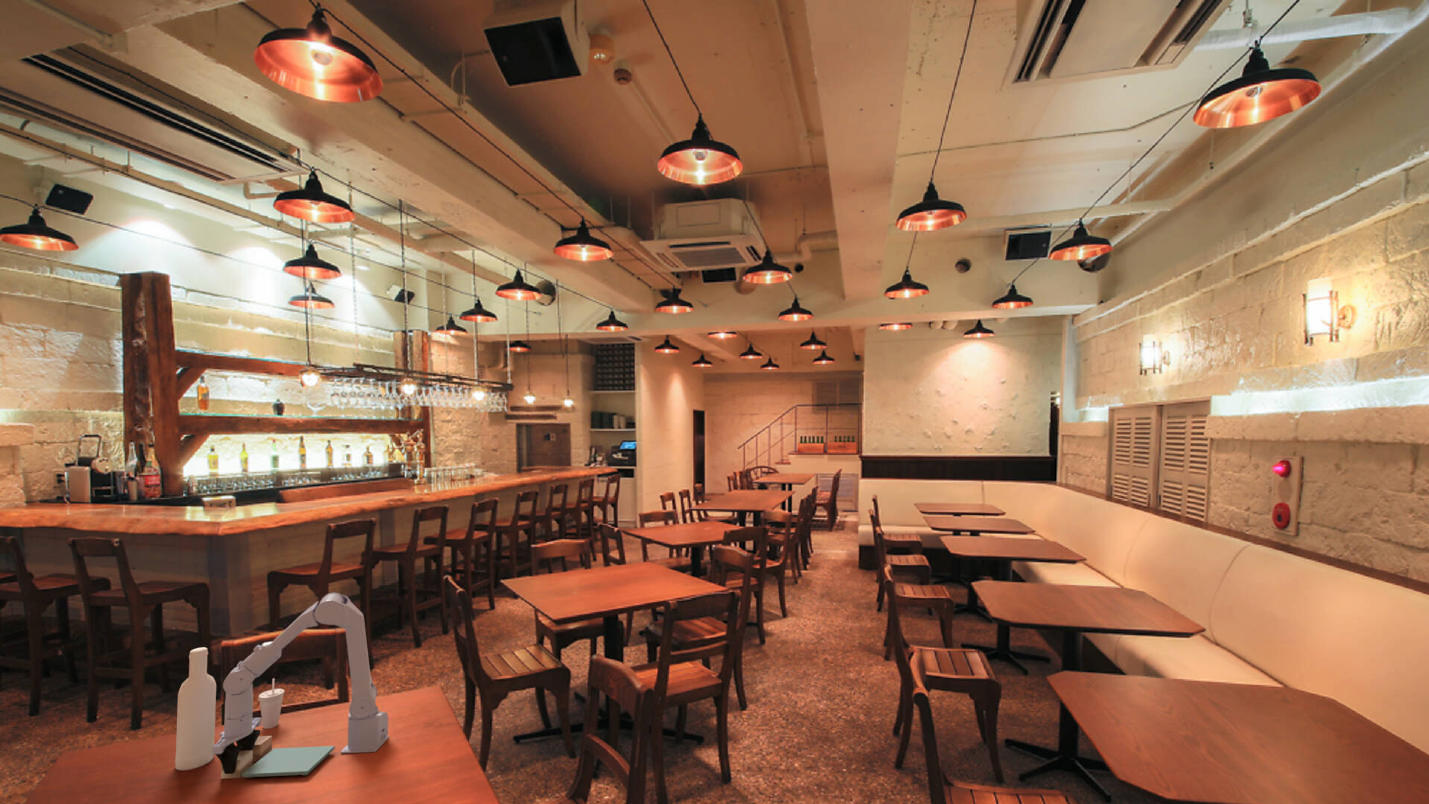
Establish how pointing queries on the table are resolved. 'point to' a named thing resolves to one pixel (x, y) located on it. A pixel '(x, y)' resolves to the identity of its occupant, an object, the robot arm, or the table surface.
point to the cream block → (240, 764)
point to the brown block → (262, 747)
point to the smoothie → (271, 706)
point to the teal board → (289, 761)
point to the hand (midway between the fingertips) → (237, 767)
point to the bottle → (196, 714)
